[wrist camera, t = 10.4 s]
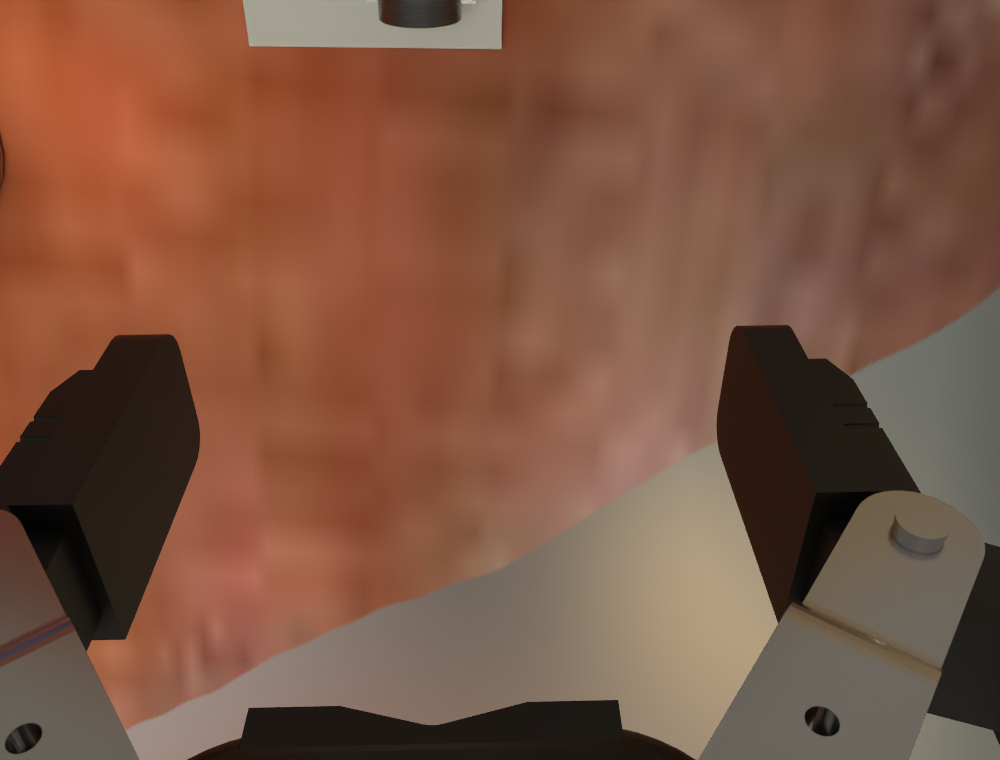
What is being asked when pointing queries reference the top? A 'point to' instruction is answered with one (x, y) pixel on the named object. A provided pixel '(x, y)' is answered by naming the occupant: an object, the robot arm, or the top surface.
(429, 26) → the shaft
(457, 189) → the top surface
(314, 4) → the base plate
